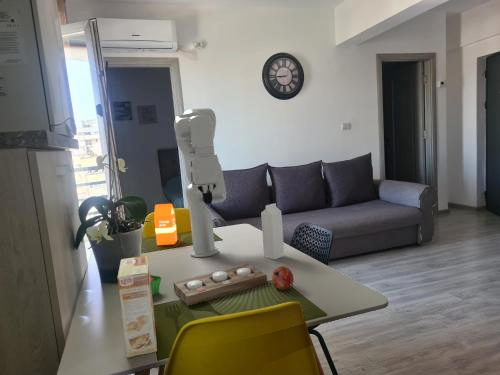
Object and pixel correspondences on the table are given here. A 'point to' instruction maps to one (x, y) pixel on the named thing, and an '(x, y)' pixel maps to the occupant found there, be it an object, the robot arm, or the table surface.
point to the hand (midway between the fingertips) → (208, 203)
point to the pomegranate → (282, 278)
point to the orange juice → (165, 224)
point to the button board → (219, 284)
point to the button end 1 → (194, 284)
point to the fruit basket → (155, 283)
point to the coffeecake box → (137, 306)
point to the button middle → (219, 276)
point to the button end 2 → (243, 271)
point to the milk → (272, 232)
